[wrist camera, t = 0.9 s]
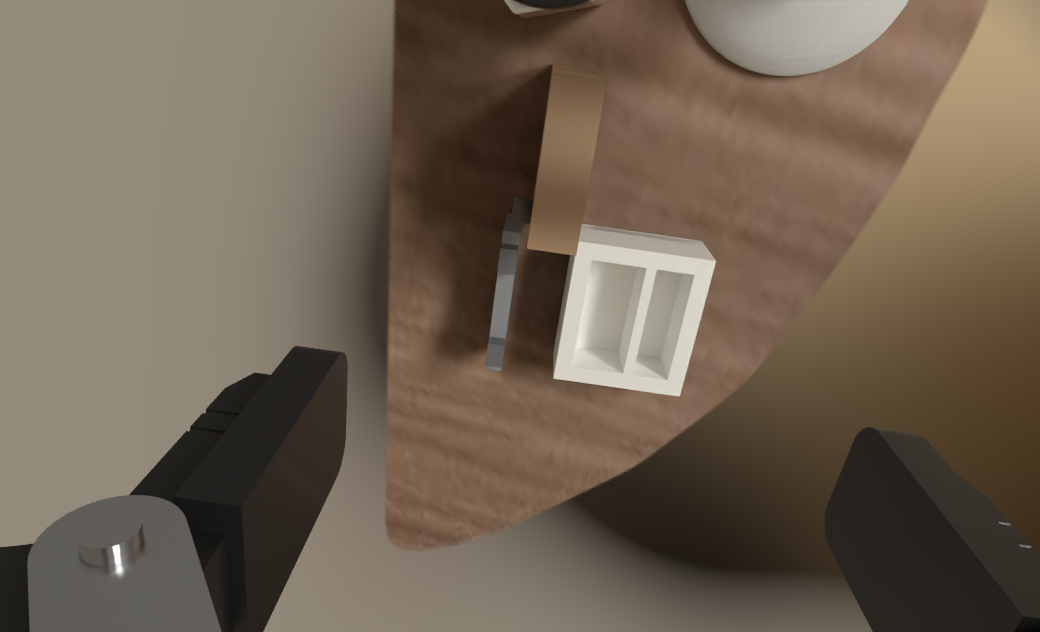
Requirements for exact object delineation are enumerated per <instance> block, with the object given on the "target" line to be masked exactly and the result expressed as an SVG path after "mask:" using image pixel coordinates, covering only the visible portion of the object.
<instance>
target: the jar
mask: <svg viewBox="0 0 1040 632" xmlns="http://www.w3.org/2000/svg"><path fill="white" fill-rule="evenodd" d="M504 1H505V3H506V4H507V5H508V7H509V8H510V9H511V11H512V12H513V13H515V14H516V15H518V16H520V17H522V18H531V17H537V16H542V15H548V14H554V13H560V12H565V11H571V10H577V9H582V8H588V7H594V6H600V5H603V4H605V3H607V2H608V1H610V0H504Z"/></svg>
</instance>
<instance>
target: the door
mask: <svg viewBox="0 0 1040 632" xmlns="http://www.w3.org/2000/svg"><path fill="white" fill-rule="evenodd" d="M606 86H607V81H606V80H605V79H604V78H602V77H601V76H600V75H599V74H598V73H597V72H596V71H595V70H591V69H584V68H578V67H571V66H564V65H557V64H553V65H552V72H551V79H550V85H549V92H548V99H547V106H546V113H545V120H544V127H543V134H542V140H541V147H540V154H539V161H538V168H537V175H536V182H535V189H534V195H533V200H532V199H525V198H518V197H514V200H513V207H512V214H511V221H517V222H524V223H530V227H529V236H528V244H527V249H533V250H540V251H546V252H553V253H560V254H567V255H574V256H576V254H577V248H578V243H579V237H580V232H581V226H582V220H583V215H584V209H585V203H586V198H587V192H588V187H589V181H590V175H591V170H592V164H593V159H594V153H595V147H596V142H597V136H598V130H599V125H600V119H601V114H602V108H603V102H604V97H605V91H606Z"/></svg>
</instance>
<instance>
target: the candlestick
mask: <svg viewBox="0 0 1040 632" xmlns="http://www.w3.org/2000/svg"><path fill="white" fill-rule="evenodd" d="M907 2H908V0H685V3H686V6H687V8H688V11H689V13H690V16H691V18H692V20H693V22H694V23H695V25H696V27H697V28H698V30H699V32H700V33H701V34H702V36H703V37H704V38H705V40H706V41H707V42H708V43H709V44H710V45H711V46H712V47H713V48H714V49H715V50H716V51H717V52H718V53H720V54H721V55H722V56H723V57H725V58H726V59H728V60H729V61H731V62H733V63H734V64H736V65H738V66H740V67H743V68H745V69H748V70H751V71H754V72H758V73H762V74H767V75H774V76H798V75H805V74H810V73H815V72H818V71H822V70H825V69H827V68H830V67H833V66H835V65H837V64H839V63H841V62H843V61H845V60H847V59H849V58H851V57H852V56H854V55H856V54H857V53H859V52H860V51H862V50H863V49H864V48H866V47H867V46H869V45H870V44H871V43H872V42H873V41H874V40H876V39H877V38H878V37H879V36H880V35H881V34H882V33H883V32H884V31H885V30H886V29H887V28H888V27H889V26H890V25H891V24H892V22H893V21H894V20H895V19H896V17H897V16H898V15H899V14H900V12H901V11H902V10H903V8H904V7H905V5H906V4H907Z"/></svg>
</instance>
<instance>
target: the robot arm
mask: <svg viewBox="0 0 1040 632" xmlns="http://www.w3.org/2000/svg"><path fill="white" fill-rule="evenodd" d="M347 373H348V364H347V357H346V355H345V353H343V352H336V351H329V350H321V349H314V348H307V347H300V346H295V347H294V348H293V349H292V350H291V351H290V352H289V353H288V355H287V356H286V357H285V358H284V359H283V361H282V362H281V363H280V364H279V366H278V367H277V368H276V369H275V371H274V372H273V373H272V374H271V375H268V374H260V373H253V374H251V375H249V376H247V377H245V378H243V379H242V380H240V381H238V382H236V383H234V384H232V385H230V386H228V387H226V388H225V389H224V390H223V391H222V392H221V393H220V394H219V395H218V397H217V398H216V399H215V400H214V401H213V402H212V403H211V404H210V405H209V407H208V408H207V409H206V413H205V414H204V413H202V414H201V415H200V417H199V418H198V419H197V420H196V421H195V422H194V423H193V425H192V426H191V427H190V431H189V432H188V431H186V432H185V433H184V434H183V436H182V437H181V438H180V439H179V440H178V441H177V442H176V444H174V446H173V447H172V448H171V449H170V450H169V451H168V452H167V453H166V454H165V456H164V457H163V458H162V459H161V460H160V461H159V462H158V463H157V465H156V466H155V467H154V468H153V469H152V470H151V471H150V472H149V473H148V474H147V476H146V477H145V478H144V479H143V480H142V481H141V482H140V484H138V486H137V487H136V488H135V489H134V490H133V491H132V492H131V493H130V495H126V496H117V497H113V498H108V499H103V500H100V501H96V502H93V503H90V504H87V505H85V506H82V507H80V508H78V509H76V510H74V511H72V512H70V513H68V514H66V515H65V516H63V517H61V518H60V519H58V520H57V521H55V522H54V523H53V524H51V525H50V526H49V527H48V528H47V529H46V530H45V531H44V532H43V533H42V534H41V535H40V536H39V537H38V538H37V540H36V541H35V543H34V544H28V545H20V546H10V547H0V632H263V631H264V629H265V627H266V625H267V623H268V620H269V618H270V616H271V614H272V612H273V610H274V608H275V606H276V604H277V602H278V599H279V597H280V595H281V593H282V591H283V589H284V587H285V585H286V583H287V581H288V579H289V577H290V574H291V572H292V570H293V568H294V566H295V564H296V562H297V560H298V558H299V555H300V553H301V551H302V549H303V547H304V545H305V543H306V541H307V539H308V537H309V535H310V533H311V531H312V528H313V526H314V524H315V522H316V520H317V518H318V516H319V514H320V512H321V509H322V507H323V505H324V503H325V501H326V499H327V497H328V495H329V493H330V491H331V489H332V486H333V484H334V482H335V480H336V478H337V476H338V473H339V470H340V467H341V463H342V459H343V454H344V448H345V440H346V439H345V438H346V409H347ZM825 535H826V540H827V543H828V546H829V548H830V550H831V552H832V554H833V556H834V558H835V560H836V562H837V564H838V565H839V567H840V569H841V571H842V573H843V575H844V577H845V579H846V581H847V583H848V585H849V586H850V589H851V590H852V592H853V594H854V596H855V598H856V600H857V602H858V604H859V606H860V607H861V610H862V611H863V613H864V615H865V617H866V619H867V621H868V623H869V625H870V627H871V629H872V631H873V632H1040V553H1039V552H1038V551H1036V550H1032V549H1031V544H1030V542H1029V541H1028V540H1027V539H1026V538H1025V537H1024V536H1023V535H1022V534H1021V533H1020V531H1018V529H1017V528H1015V527H1011V522H1010V520H1009V519H1008V518H1007V517H1006V516H1005V515H1004V514H1003V513H1002V512H1001V511H1000V509H999V508H998V507H997V506H996V505H995V504H994V503H993V502H992V501H991V500H990V498H989V497H988V496H986V495H985V494H984V493H982V492H981V491H980V490H978V489H977V488H975V487H974V486H973V485H971V484H970V483H968V482H967V481H966V480H964V479H963V478H961V477H960V476H958V475H957V474H956V473H955V472H954V471H953V470H952V469H951V467H950V466H949V465H948V464H947V463H946V462H945V461H944V460H943V458H942V457H941V456H940V455H939V454H938V453H937V452H936V450H935V449H934V448H933V447H932V446H931V445H930V444H929V443H928V441H926V439H925V438H924V437H922V436H921V435H918V434H914V433H907V432H899V431H893V430H885V429H878V428H871V427H867V428H864V429H863V430H861V431H860V432H859V433H858V434H857V436H856V437H855V440H854V442H853V444H852V446H851V449H850V451H849V454H848V456H847V459H846V461H845V463H844V466H843V469H842V471H841V473H840V476H839V478H838V480H837V483H836V485H835V488H834V490H833V493H832V495H831V497H830V500H829V503H828V505H827V509H826V513H825Z"/></svg>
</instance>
